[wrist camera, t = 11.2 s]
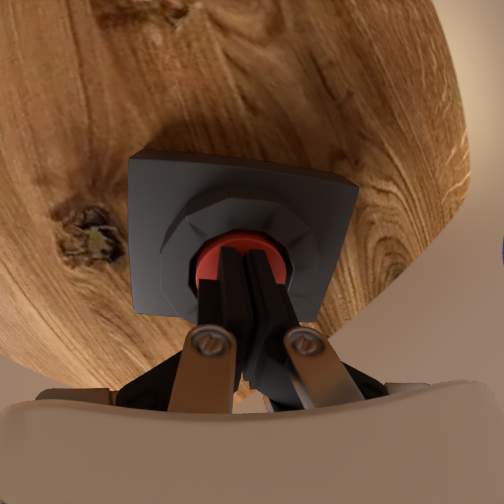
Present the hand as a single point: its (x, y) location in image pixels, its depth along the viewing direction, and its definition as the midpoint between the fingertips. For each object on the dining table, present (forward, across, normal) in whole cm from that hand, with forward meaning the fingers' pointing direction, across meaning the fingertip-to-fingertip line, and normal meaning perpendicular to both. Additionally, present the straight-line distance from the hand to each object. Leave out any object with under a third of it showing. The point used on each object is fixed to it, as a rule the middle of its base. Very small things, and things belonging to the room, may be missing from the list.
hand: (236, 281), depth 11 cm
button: (+2, 0, 0) cm, 2 cm away
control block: (+4, 0, 0) cm, 4 cm away
